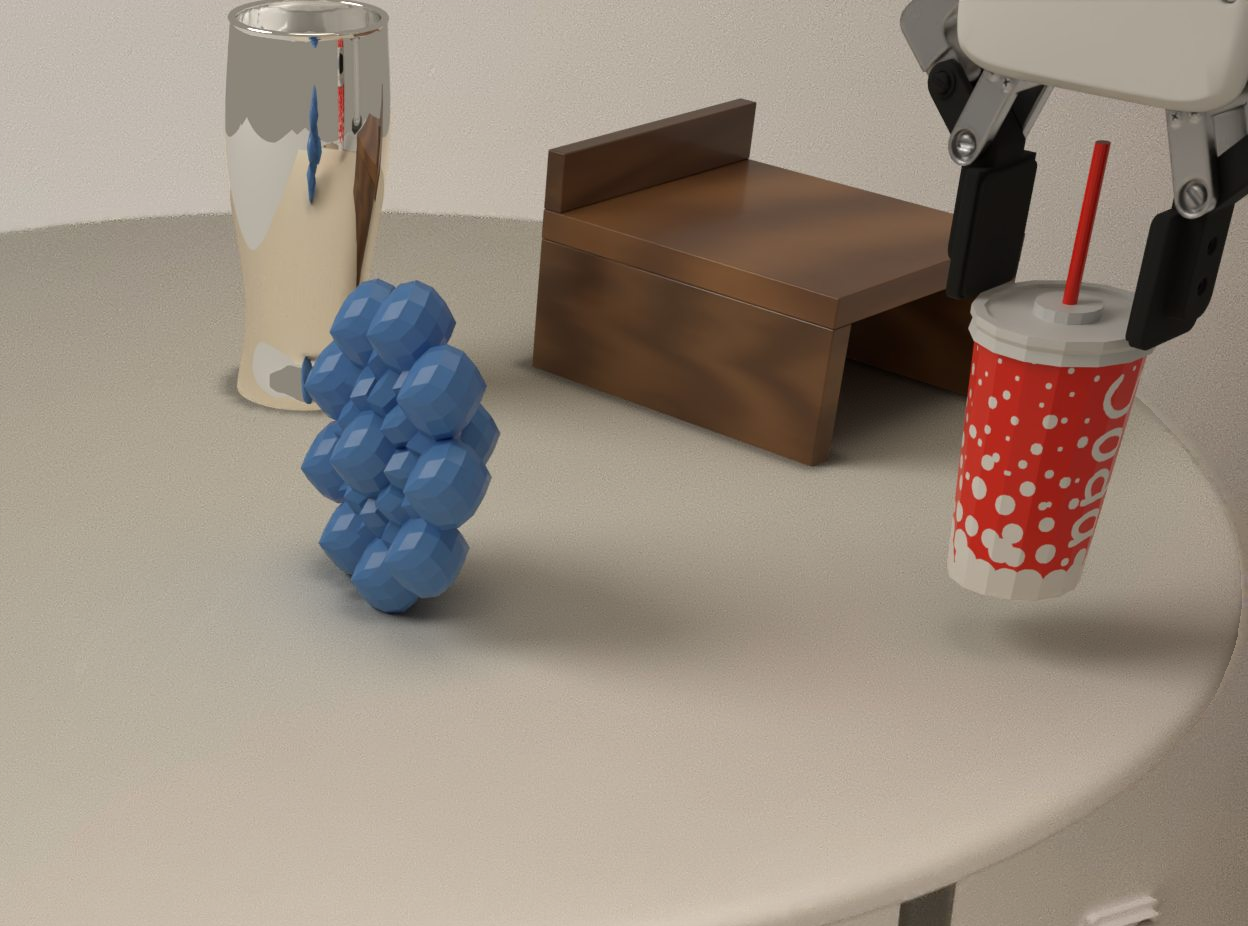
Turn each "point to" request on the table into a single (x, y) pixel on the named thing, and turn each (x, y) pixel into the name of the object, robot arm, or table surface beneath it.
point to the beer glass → (303, 176)
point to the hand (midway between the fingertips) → (1068, 308)
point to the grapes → (398, 443)
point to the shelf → (736, 282)
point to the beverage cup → (1042, 424)
